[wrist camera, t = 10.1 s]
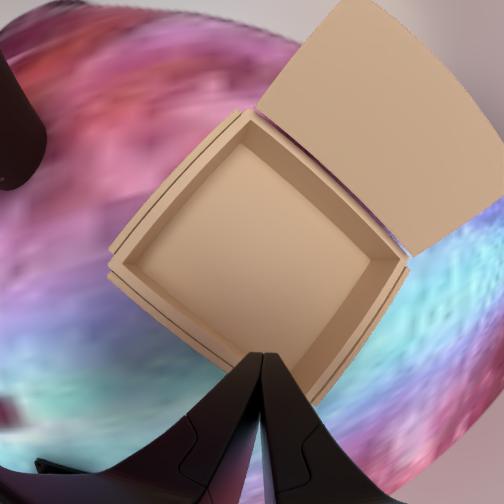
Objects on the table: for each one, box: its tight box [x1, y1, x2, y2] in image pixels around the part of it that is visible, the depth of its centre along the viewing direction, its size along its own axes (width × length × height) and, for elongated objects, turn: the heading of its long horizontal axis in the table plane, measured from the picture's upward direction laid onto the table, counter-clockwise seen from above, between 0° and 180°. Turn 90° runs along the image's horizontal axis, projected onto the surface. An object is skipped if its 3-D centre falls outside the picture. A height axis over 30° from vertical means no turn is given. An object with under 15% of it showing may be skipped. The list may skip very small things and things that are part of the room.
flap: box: [255, 0, 504, 257], centre depth 13 cm, size 1×13×9 cm
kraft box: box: [107, 108, 410, 406], centre depth 18 cm, size 12×15×4 cm
